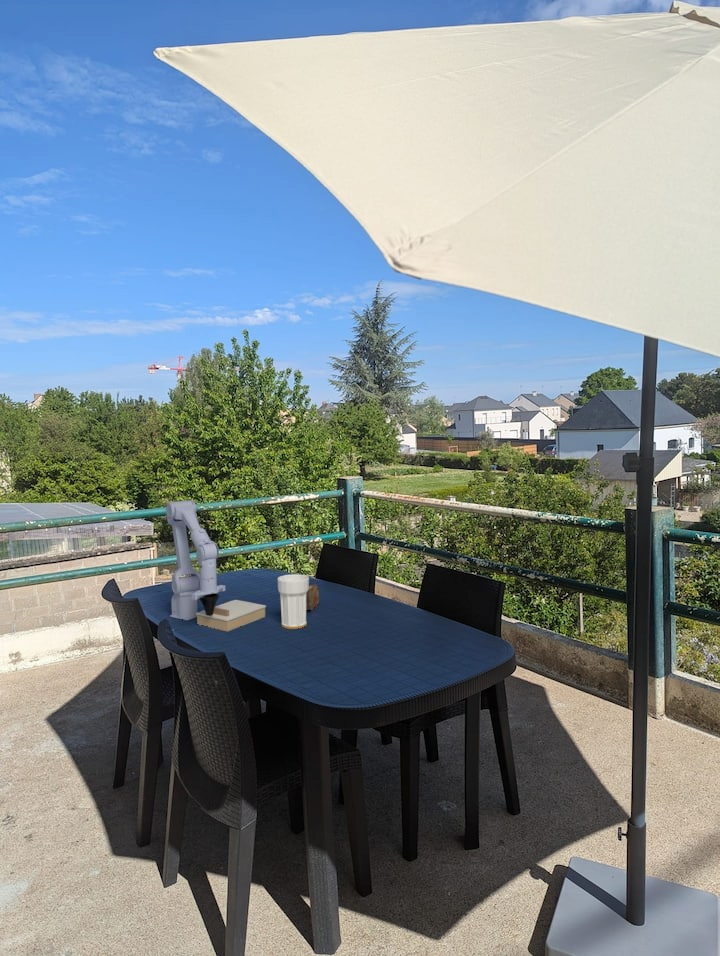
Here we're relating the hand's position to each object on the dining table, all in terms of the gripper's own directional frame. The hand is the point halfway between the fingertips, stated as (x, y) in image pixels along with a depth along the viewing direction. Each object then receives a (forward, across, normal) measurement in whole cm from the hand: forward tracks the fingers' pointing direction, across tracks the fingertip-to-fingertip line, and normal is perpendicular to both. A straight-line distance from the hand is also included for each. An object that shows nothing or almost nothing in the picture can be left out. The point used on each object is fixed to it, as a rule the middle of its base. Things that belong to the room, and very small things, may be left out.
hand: (209, 614), depth 234 cm
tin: (+5, +40, -15) cm, 43 cm away
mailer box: (+5, +11, 0) cm, 12 cm away
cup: (+5, +19, -23) cm, 30 cm away
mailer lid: (+1, +11, 0) cm, 11 cm away
